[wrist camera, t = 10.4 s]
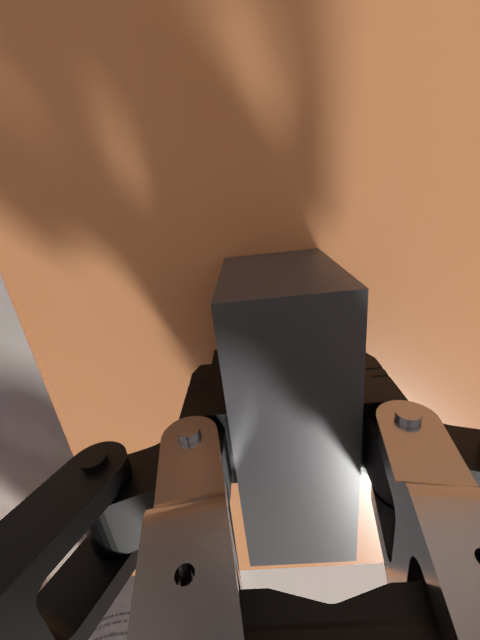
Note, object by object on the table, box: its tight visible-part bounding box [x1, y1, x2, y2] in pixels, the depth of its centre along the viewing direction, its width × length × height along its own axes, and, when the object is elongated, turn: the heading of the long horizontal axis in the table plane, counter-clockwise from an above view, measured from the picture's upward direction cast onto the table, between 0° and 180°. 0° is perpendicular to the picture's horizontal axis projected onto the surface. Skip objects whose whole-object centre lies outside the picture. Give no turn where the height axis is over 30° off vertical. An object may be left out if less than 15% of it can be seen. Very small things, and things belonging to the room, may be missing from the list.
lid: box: [0, 0, 480, 576], centre depth 11 cm, size 18×24×6 cm
